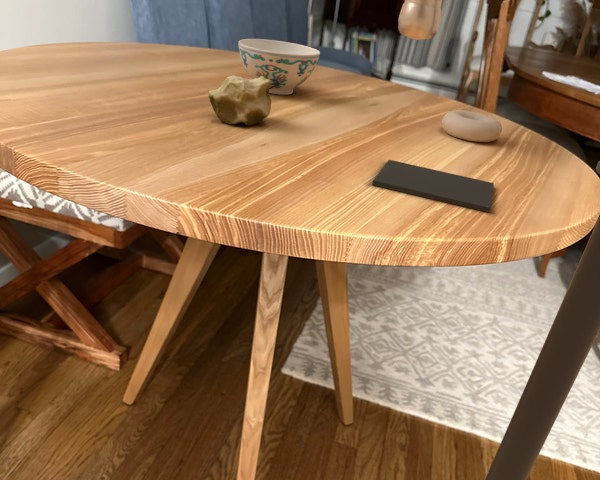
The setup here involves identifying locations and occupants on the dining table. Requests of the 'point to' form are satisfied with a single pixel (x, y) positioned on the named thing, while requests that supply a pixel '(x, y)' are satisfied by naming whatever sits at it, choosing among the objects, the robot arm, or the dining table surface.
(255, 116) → the fruit
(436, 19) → the plastic bottle
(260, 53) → the chinaware
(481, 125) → the donut
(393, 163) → the mat
